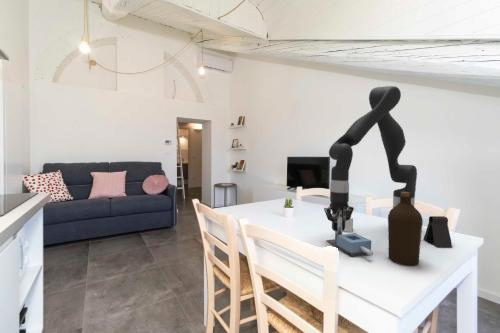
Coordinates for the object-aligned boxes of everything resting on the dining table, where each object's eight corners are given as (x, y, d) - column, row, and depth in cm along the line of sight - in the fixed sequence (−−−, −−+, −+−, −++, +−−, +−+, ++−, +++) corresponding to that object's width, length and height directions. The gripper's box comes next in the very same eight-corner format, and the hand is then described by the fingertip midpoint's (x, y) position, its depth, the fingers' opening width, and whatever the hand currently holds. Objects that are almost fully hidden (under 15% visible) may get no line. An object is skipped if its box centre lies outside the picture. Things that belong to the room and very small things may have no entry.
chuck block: (354, 246, 104) (355, 233, 103) (381, 259, 90) (381, 245, 90) (336, 248, 101) (336, 235, 101) (360, 262, 88) (360, 247, 87)
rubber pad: (339, 239, 111) (339, 238, 111) (350, 245, 104) (350, 244, 104) (326, 241, 109) (326, 240, 109) (336, 247, 102) (336, 245, 102)
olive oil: (392, 265, 86) (394, 194, 84) (382, 253, 96) (384, 189, 95) (426, 268, 84) (429, 195, 82) (413, 255, 94) (415, 190, 93)
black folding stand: (423, 240, 111) (424, 213, 110) (436, 240, 111) (438, 214, 110) (437, 247, 102) (438, 219, 101) (452, 248, 102) (453, 219, 101)
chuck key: (345, 241, 104) (345, 210, 104) (339, 242, 103) (339, 211, 103) (338, 238, 109) (337, 208, 109) (332, 238, 108) (332, 209, 108)
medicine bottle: (352, 232, 122) (353, 208, 121) (337, 231, 123) (338, 207, 123) (350, 227, 129) (350, 205, 128) (335, 227, 130) (336, 204, 130)
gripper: (330, 192, 100) (329, 234, 101) (359, 191, 104) (358, 231, 104) (320, 189, 107) (319, 229, 108) (347, 188, 111) (346, 226, 112)
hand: (338, 230), depth 106 cm, fingers closed on chuck key, 3 cm apart
